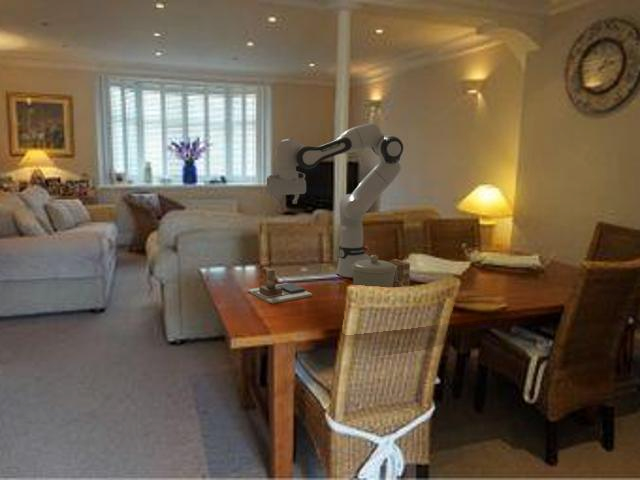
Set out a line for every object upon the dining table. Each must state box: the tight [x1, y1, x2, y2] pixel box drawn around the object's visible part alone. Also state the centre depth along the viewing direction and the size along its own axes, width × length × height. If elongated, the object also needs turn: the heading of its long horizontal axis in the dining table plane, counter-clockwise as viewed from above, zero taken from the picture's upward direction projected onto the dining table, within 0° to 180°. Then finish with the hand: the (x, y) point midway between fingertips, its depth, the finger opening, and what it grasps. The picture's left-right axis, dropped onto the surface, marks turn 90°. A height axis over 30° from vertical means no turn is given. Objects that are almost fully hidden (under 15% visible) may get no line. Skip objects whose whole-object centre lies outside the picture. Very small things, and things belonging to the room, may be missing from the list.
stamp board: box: [247, 282, 313, 304], centre depth 226 cm, size 20×20×2 cm
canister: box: [351, 254, 397, 287], centre depth 209 cm, size 18×18×21 cm
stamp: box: [258, 268, 282, 296], centre depth 222 cm, size 7×7×10 cm
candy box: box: [389, 258, 411, 287], centre depth 224 cm, size 9×4×15 cm, turn 33°
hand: (286, 204), depth 247 cm, fingers open, 8 cm apart
